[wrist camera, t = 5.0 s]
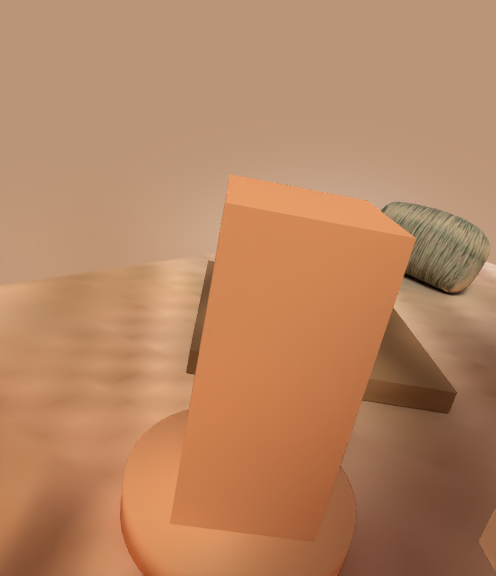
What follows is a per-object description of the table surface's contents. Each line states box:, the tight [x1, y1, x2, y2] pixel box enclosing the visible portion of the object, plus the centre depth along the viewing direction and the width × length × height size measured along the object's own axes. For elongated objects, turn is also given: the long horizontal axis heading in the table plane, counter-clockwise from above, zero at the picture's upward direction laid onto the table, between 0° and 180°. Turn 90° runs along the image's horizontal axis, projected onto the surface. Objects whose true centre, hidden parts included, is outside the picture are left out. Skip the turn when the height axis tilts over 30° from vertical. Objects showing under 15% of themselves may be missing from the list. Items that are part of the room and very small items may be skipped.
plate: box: [186, 261, 457, 413], centre depth 34 cm, size 16×16×2 cm
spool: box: [381, 202, 490, 293], centre depth 53 cm, size 14×10×10 cm
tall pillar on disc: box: [120, 174, 416, 576], centre depth 16 cm, size 9×9×12 cm
